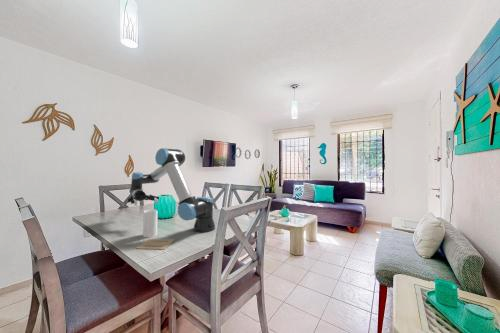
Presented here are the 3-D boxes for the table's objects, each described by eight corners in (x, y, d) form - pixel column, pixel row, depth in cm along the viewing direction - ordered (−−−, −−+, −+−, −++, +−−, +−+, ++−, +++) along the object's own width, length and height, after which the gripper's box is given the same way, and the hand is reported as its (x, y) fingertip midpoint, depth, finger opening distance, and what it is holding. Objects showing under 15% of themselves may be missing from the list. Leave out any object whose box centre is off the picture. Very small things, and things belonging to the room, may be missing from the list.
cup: (146, 233, 133) (146, 209, 133) (159, 232, 134) (159, 209, 133) (141, 237, 125) (141, 212, 124) (154, 237, 125) (154, 212, 125)
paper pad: (174, 240, 121) (174, 239, 121) (164, 249, 108) (164, 248, 108) (148, 239, 122) (148, 238, 122) (136, 248, 109) (136, 247, 109)
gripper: (155, 198, 159) (165, 206, 144) (119, 200, 142) (125, 209, 127) (156, 189, 159) (166, 196, 143) (120, 190, 142) (126, 198, 126)
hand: (147, 202), depth 135 cm, fingers open, 13 cm apart
